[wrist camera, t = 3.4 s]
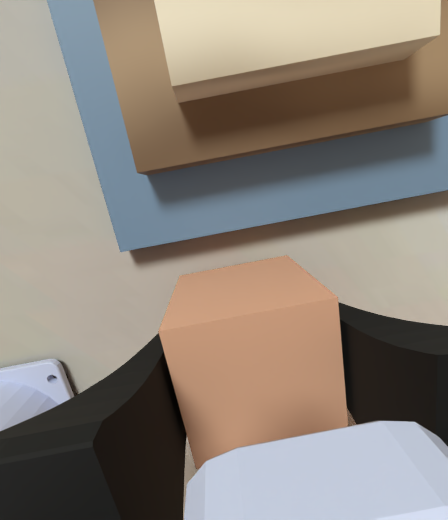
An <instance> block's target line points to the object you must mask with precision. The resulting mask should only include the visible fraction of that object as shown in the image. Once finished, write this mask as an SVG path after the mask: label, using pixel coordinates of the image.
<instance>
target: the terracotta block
mask: <svg viewBox="0 0 448 520" xmlns="http://www.w3.org/2000/svg"><path fill="white" fill-rule="evenodd" d="M158 332H159V336H160V339H161V343H162V346H163V350H164V354H165V357H166V361H167V365H168V368H169V372H170V375H171V379H172V383H173V386H174V390H175V394H176V397H177V401H178V405H179V408H180V412H181V415H182V419H183V423H184V426H185V430H186V434H187V437H188V441H189V444H190V448H191V452H192V455H193V459H194V463H195V466H196V469H199V468H201V467H202V465H203V464H204V463H205V462H206V461H207V460H209V459H211V458H213V457H216V456H218V455H220V454H223V453H225V452H228V451H230V450H232V449H235V448H237V447H242V446H247V445H252V444H258V443H263V442H268V441H273V440H279V439H284V438H289V437H294V436H300V435H305V434H310V433H315V432H321V431H326V430H331V429H336V428H342V427H347V426H348V418H347V405H346V393H345V380H344V368H343V355H342V342H341V330H340V317H339V305H338V297H337V296H336V295H335V294H333V293H332V292H331V291H330V290H329V289H327V288H326V287H325V286H324V285H322V284H321V283H320V282H319V281H318V280H316V279H315V278H314V277H313V276H312V275H310V274H309V273H308V272H307V271H305V270H304V269H303V268H302V267H301V266H299V265H298V264H297V263H296V262H295V261H293V260H292V259H291V258H290V257H289V256H287V255H286V256H281V257H276V258H270V259H265V260H260V261H255V262H249V263H244V264H239V265H234V266H228V267H223V268H218V269H213V270H207V271H202V272H197V273H192V274H186V275H181V276H179V279H178V281H177V284H176V286H175V289H174V292H173V294H172V297H171V300H170V302H169V305H168V307H167V310H166V313H165V315H164V318H163V320H162V323H161V326H160V328H159V331H158Z"/></svg>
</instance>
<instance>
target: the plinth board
mask: <svg viewBox="0 0 448 520" xmlns="http://www.w3.org/2000/svg"><path fill="white" fill-rule="evenodd" d="M47 3H48V6H49V9H50V13H51V16H52V20H53V23H54V27H55V30H56V33H57V37H58V40H59V44H60V47H61V51H62V54H63V57H64V61H65V64H66V68H67V71H68V75H69V78H70V81H71V85H72V88H73V92H74V95H75V99H76V102H77V105H78V109H79V112H80V116H81V119H82V122H83V126H84V129H85V133H86V136H87V140H88V143H89V146H90V150H91V153H92V157H93V160H94V164H95V167H96V170H97V174H98V177H99V181H100V184H101V188H102V191H103V194H104V198H105V201H106V205H107V208H108V211H109V215H110V218H111V222H112V225H113V229H114V232H115V235H116V239H117V242H118V246H119V249H120V252H123V251H129V250H134V249H139V248H145V247H150V246H155V245H160V244H166V243H171V242H176V241H181V240H187V239H192V238H197V237H203V236H208V235H213V234H218V233H224V232H229V231H234V230H240V229H245V228H250V227H255V226H261V225H266V224H271V223H276V222H282V221H287V220H292V219H298V218H303V217H308V216H313V215H319V214H324V213H329V212H335V211H340V210H345V209H350V208H356V207H361V206H366V205H371V204H377V203H382V202H387V201H393V200H398V199H403V198H408V197H414V196H419V195H424V194H430V193H435V192H440V191H445V190H448V0H47Z"/></svg>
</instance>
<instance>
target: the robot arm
mask: <svg viewBox="0 0 448 520" xmlns="http://www.w3.org/2000/svg"><path fill="white" fill-rule="evenodd" d="M338 305H339V317H340V330H341V342H342V355H343V368H344V380H345V393H346V405H347V408H348V410H349V412H350V413H351V415H352V417H353V419H354V420H355V422H356V424H357V425H352V426H347V427H342V428H336V429H331V430H326V431H321V432H315V433H310V434H305V435H300V436H294V437H289V438H284V439H279V440H273V441H268V442H263V443H258V444H252V445H247V446H242V447H237V448H235V449H232V450H230V451H228V452H225V453H223V454H220V455H218V456H216V457H213V458H211V459H209V460H207V461H206V462H205V463H204V464H203V465H202V467H201V468H200V469H199V470H198V471H197V473H196V474H195V475H194V476H193V477H192V479H191V480H190V481H189V482H188V484H187V490H186V502H185V514H184V520H448V326H442V325H434V324H426V323H419V322H412V321H406V320H401V319H396V318H391V317H386V316H382V315H378V314H374V313H371V312H367V311H364V310H360V309H357V308H354V307H351V306H348V305H345V304H342V303H339V302H338ZM52 375H54V376H56V377H57V378H54V377H53V376H52ZM186 436H187V434H186V430H185V426H184V423H183V419H182V415H181V412H180V408H179V405H178V401H177V397H176V394H175V390H174V386H173V383H172V379H171V375H170V372H169V368H168V365H167V361H166V357H165V354H164V350H163V346H162V343H161V339H160V336H159V333H158V334H157V335H156V336H155V337H154V338H153V339H152V340H151V341H150V342H149V343H148V344H147V345H146V346H145V347H144V348H142V349H141V350H140V351H139V352H138V353H137V354H136V355H134V356H133V357H132V358H131V359H130V360H129V361H127V362H126V363H125V364H124V365H122V366H121V367H120V368H118V369H117V370H116V371H114V372H113V373H111V374H110V375H109V376H107V377H106V378H104V379H103V380H101V381H99V382H98V383H96V384H95V385H93V386H91V387H90V388H88V389H87V390H85V391H83V392H82V393H80V394H78V395H76V396H74V394H73V392H72V389H71V387H70V384H69V382H68V379H67V377H66V374H65V372H64V369H63V366H62V364H61V363H60V362H59V361H58V360H55V359H46V360H41V361H36V362H31V363H25V364H20V365H15V366H9V367H4V368H0V520H183V497H184V468H185V446H186Z"/></svg>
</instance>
